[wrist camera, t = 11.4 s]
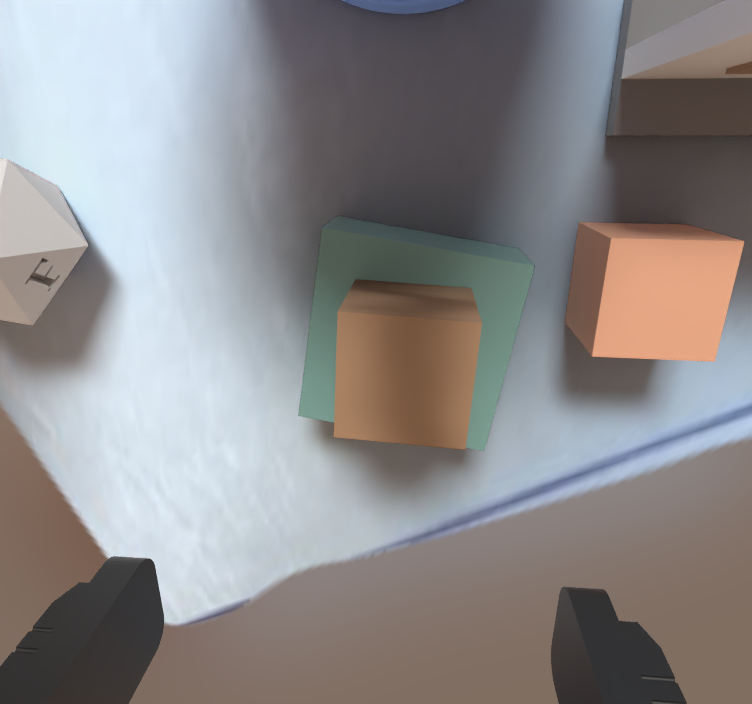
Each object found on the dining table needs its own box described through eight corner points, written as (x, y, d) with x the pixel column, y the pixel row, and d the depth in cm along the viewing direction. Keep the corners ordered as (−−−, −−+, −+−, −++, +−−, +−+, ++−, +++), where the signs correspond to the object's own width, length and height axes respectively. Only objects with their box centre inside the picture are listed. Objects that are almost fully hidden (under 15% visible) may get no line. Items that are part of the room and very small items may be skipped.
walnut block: (351, 383, 28) (333, 437, 23) (355, 279, 26) (337, 311, 21) (458, 393, 27) (465, 449, 22) (471, 287, 25) (482, 322, 20)
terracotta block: (564, 321, 30) (592, 356, 25) (578, 221, 29) (611, 238, 23) (665, 325, 30) (714, 361, 25) (687, 224, 28) (744, 241, 23)
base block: (316, 378, 33) (298, 415, 29) (338, 215, 30) (321, 227, 25) (476, 408, 33) (483, 451, 28) (517, 247, 30) (534, 266, 25)
